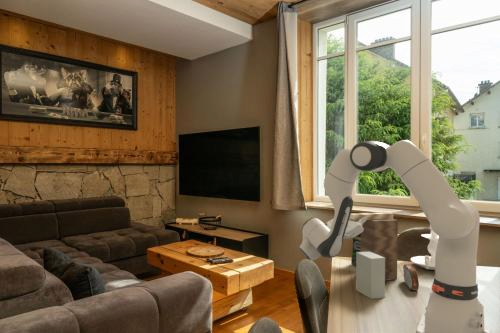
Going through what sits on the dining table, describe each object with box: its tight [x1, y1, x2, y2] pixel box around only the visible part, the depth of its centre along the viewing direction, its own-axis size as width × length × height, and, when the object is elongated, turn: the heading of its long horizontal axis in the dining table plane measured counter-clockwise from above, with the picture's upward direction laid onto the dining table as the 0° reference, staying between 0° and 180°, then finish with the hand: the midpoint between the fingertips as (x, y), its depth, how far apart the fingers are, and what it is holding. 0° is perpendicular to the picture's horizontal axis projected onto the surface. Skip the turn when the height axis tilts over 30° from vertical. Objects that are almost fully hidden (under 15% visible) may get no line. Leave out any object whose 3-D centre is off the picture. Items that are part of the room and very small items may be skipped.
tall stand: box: [360, 218, 399, 281], centre depth 156 cm, size 12×10×26 cm
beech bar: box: [349, 211, 394, 222], centre depth 155 cm, size 20×4×2 cm, turn 105°
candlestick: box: [410, 224, 439, 271], centre depth 168 cm, size 21×25×28 cm
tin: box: [402, 263, 420, 291], centre depth 143 cm, size 15×3×8 cm, turn 168°
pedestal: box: [355, 251, 386, 300], centre depth 135 cm, size 6×10×15 cm, turn 15°
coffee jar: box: [351, 233, 361, 267], centre depth 172 cm, size 10×8×19 cm
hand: (358, 217), depth 153 cm, fingers open, 8 cm apart
